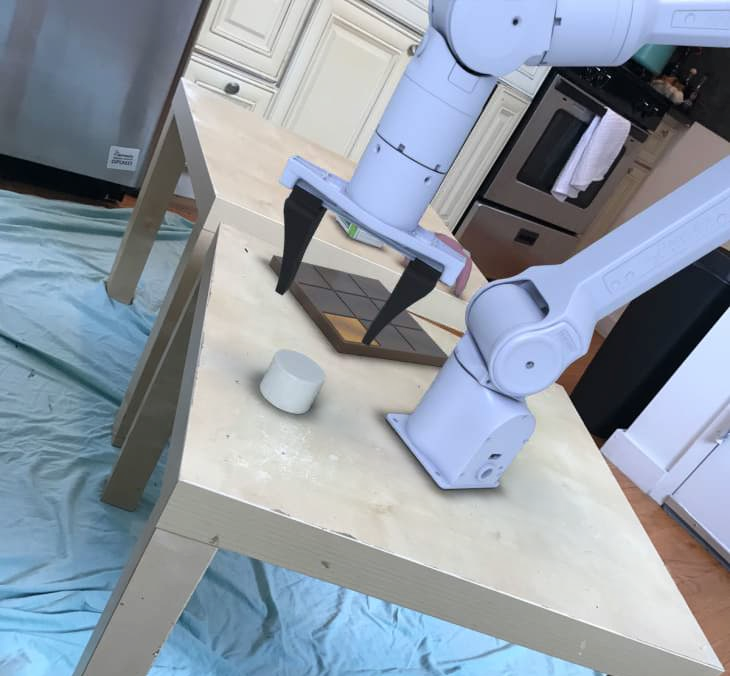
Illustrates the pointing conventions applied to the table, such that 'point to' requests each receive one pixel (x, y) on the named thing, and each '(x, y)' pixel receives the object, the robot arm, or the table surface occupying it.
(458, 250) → the video game controller
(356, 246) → the table surface
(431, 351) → the board
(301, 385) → the white squat cylinder
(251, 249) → the table surface
